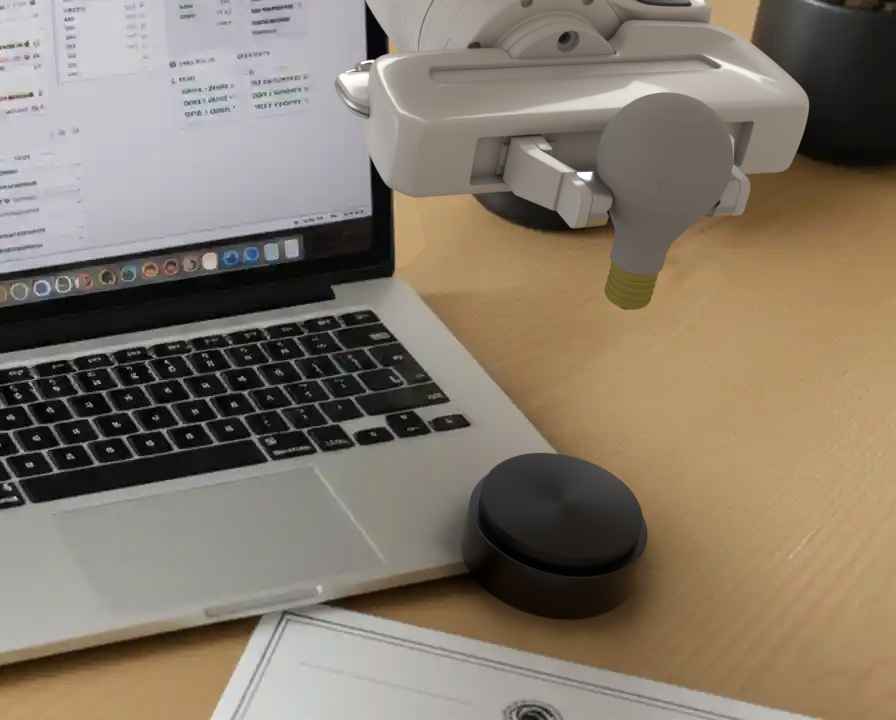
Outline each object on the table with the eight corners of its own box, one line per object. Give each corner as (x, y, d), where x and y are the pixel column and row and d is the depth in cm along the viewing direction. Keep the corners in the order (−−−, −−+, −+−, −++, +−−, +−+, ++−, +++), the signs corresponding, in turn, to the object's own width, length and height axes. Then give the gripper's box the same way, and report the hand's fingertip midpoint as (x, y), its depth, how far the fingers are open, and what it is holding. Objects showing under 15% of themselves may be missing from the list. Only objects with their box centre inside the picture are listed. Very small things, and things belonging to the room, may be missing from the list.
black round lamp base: (587, 491, 80) (601, 438, 78) (667, 605, 74) (684, 550, 72) (434, 512, 78) (445, 457, 76) (504, 631, 72) (518, 575, 70)
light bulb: (670, 276, 75) (729, 74, 69) (700, 346, 70) (765, 136, 65) (552, 267, 74) (601, 64, 69) (574, 337, 70) (628, 126, 64)
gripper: (330, 4, 74) (446, 154, 64) (728, -9, 80) (894, 126, 70) (313, 130, 78) (421, 291, 67) (695, 108, 84) (849, 253, 73)
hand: (665, 207), depth 69 cm, fingers closed on light bulb, 5 cm apart
